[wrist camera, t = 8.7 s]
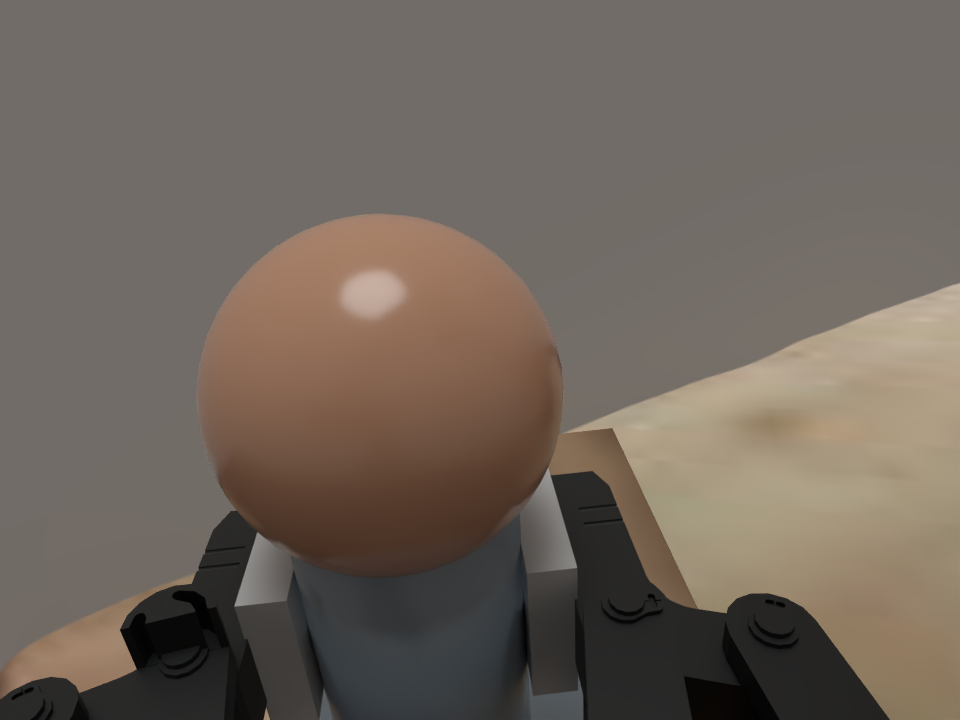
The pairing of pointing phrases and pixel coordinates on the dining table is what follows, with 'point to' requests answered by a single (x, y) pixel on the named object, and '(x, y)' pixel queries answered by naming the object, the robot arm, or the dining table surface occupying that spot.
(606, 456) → the box
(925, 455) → the dining table surface
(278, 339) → the arcade joystick
